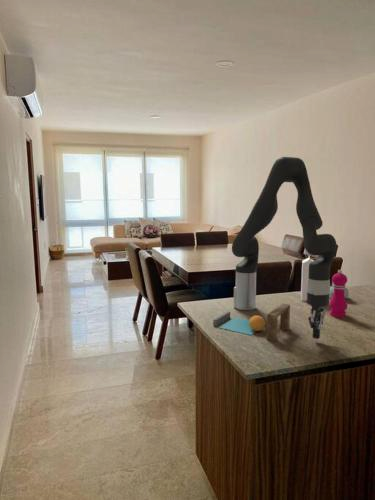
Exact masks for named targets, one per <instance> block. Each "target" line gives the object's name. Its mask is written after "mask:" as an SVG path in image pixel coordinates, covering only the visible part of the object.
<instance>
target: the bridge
mask: <svg viewBox="0 0 375 500" xmlns="http://www.w3.org/2000/svg"><path fill="white" fill-rule="evenodd" d="M290 315H291V304H289V303H281V304H280V305H278V306H277V307H276V308H274V309H272V310H271V311H270V312H269V313H267V321H266V322H267V323H266V327H267V328H266V329H267V330H266V340H267V341H272V342H276V341H277V340H278V317H280V320H279V329H281V330H286V331H288V330H290V319H291V317H290Z"/></svg>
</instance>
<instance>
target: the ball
mask: <svg viewBox="0 0 375 500" xmlns="http://www.w3.org/2000/svg"><path fill="white" fill-rule="evenodd" d="M249 320H250V321H249V325H250V327H251V329H252V330H254V331H256V332H261V331H262V330H263V329H264V328H265V326H266V325H265V324H266V321H265V319H264V318H263V317H262V316H260V315H252V316H251V317H250V319H249Z"/></svg>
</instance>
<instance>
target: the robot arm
mask: <svg viewBox="0 0 375 500" xmlns="http://www.w3.org/2000/svg"><path fill="white" fill-rule="evenodd" d="M307 170H308V169H307V167H306V164H305V162H304V160H303V159H302V158H299V157H294V156H293V157H292V156H281V157H278V158H277V159H276V160H275V161H274V162H273V165H272V166H271V169H270V171H269V174H268V176H267V179H266V182H265V184H264V187H263V188H262V190H261V192H260V194H259V197H258V199H257V200H256V202H255V204H254V205H253V206H252V209H251V212H250V214H249V215H248V217H247V219H246V220H245V222H244V224H243V226H242V227H241V228H240V230H239V232H238V233H237V234H236V236H235V238H234V239H233V242H232V244H231V251H232V254H233V256H235V257H237V258H243V259H242V261H240V262H238V263H237V264H236V265H235V286H234V287H233V308H236V309H237V310H239V311H253V310H255V309H256V305H257V303H256V300H257V298H256V297H257V267H258V265H259V252H260V251H259V250H260V246H259V240H258V238H257V237H256V235H258V234H259V233H260V232H261V231H263V230H264V229H266V228H267V227H268V226H269V225H270V224H271V222H272V220H273V219H274V217H275V216H276V214H277V212H278V206H279V205H278V204H279V203H278V196H277V195H278V192H279V191H280V188H281V187H282V185H283V184H284V183H293V185H294V186H295V188H296V191H297V200H296V203H295V205H296V206H295V209H296V210H295V211H296V215H297V218H298V220H299V222H300V225H301V227H302V228H301V229H302V236H303V237H302V239H303V247H304V249H305V251H306V252H307V254H308V255H309V256H317V258H316V259H315V260H314V261H313V262H311V263H310V264H309V275H308V283H307V301H306V303H307V305H309V306H311V309H310V310H309V312H310V316H308V323H309V326H310V328H311V329H312V338H313V339H316V340H318V339H320V338H321V328H322V325H323V324H324V320H325V315H326V308H325V307H328V306H329V303H330V299H331V298H330V287H331V281H330V280H331V279H330V277H331V266H332V263H333V261H334V257H335V254H336V253H337V241H336V238H335V236H334V235H332V234H329V233H321V234H320V233H319V234H318V233H317V230H319V229H321V228H322V227H323V223H324V222H323V219H322V218H321V215H320V212H319V210H318V208H317V205H316V203H315V200H314V197H313V193H312V189H311V183H310V179H309V175H308V171H307Z"/></svg>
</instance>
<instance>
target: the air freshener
mask: <svg viewBox="0 0 375 500" xmlns="http://www.w3.org/2000/svg"><path fill="white" fill-rule="evenodd" d="M333 284H334V283H333V281H332V280H331V285H330V298H329V299H331V298H332V296H333V294H334V288H333ZM349 295H350V294H349V289H348V288H347V287H346V288H345V289H344V296H345V299H348V298H349Z"/></svg>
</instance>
